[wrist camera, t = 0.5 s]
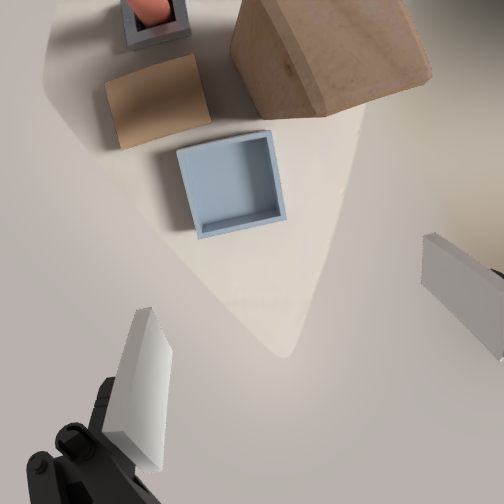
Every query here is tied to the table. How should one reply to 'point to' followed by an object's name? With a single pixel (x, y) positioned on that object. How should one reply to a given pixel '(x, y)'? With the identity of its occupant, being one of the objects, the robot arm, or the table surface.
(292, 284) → the table surface
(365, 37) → the wooden block
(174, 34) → the socket
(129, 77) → the cardboard box
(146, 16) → the dowel
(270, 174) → the tray
